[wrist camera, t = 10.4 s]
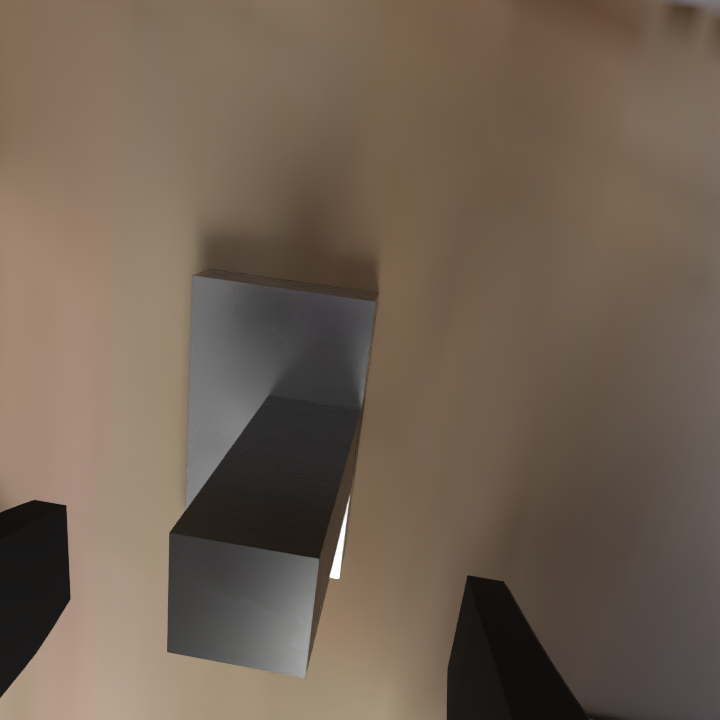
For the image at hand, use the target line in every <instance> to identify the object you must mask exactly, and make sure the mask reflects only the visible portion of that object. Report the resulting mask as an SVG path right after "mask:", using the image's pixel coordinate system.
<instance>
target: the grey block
mask: <svg viewBox="0 0 720 720" xmlns="http://www.w3.org/2000/svg"><path fill="white" fill-rule="evenodd" d="M378 296H379V294H378V293H371V292H364V291H357V290H350V289H343V288H336V287H329V286H322V285H315V284H308V283H301V282H294V281H287V280H280V279H273V278H266V277H259V276H252V275H245V274H238V273H231V272H224V271H217V270H210V269H206V270H204V271H202V272H199V273H197V274H195V275H192V300H191V335H190V369H189V404H188V439H187V474H186V509H185V512H184V513H183V515H182V516H181V518H180V519H179V520H178V522H177V523H176V524H175V526H174V527H173V529H172V530H171V531H170V533H169V586H168V639H167V652H170V653H175V654H180V655H186V656H191V657H196V658H201V659H207V660H212V661H217V662H223V663H228V664H233V665H238V666H244V667H249V668H254V669H260V670H265V671H270V672H275V673H281V674H286V675H291V676H297V677H302V678H305V677H306V673H307V669H308V665H309V661H310V656H311V652H312V648H313V644H314V640H315V636H316V632H317V628H318V624H319V619H320V615H321V611H322V607H323V603H324V599H325V595H326V591H327V586H328V582H329V578H330V577H332V578H338V579H339V576H340V572H341V567H342V563H343V558H344V551H345V544H346V536H347V529H348V521H349V514H350V506H351V499H352V491H353V484H354V476H355V469H356V461H357V454H358V446H359V439H360V431H361V424H362V416H363V409H364V401H365V394H366V386H367V379H368V371H369V364H370V356H371V349H372V341H373V334H374V326H375V319H376V311H377V304H378Z"/></svg>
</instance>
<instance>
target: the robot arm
mask: <svg viewBox="0 0 720 720" xmlns="http://www.w3.org/2000/svg"><path fill="white" fill-rule="evenodd" d="M69 601H70V577H69V555H68V533H67V511H66V505H60V504H55V503H49V502H43V501H37V500H33V501H30V502H27V503H24V504H21V505H18V506H16V507H13V508H11V509H8V510H6V511H3V512H1V513H0V698H1V696H2V695H3V694H4V693H5V691H6V690H7V689H8V688H9V686H10V685H11V684H12V683H13V681H14V680H15V679H16V678H17V677H18V675H19V674H20V673H21V672H22V670H23V669H24V668H25V667H26V665H27V664H28V663H29V662H30V660H31V659H32V658H33V656H34V655H35V654H36V653H37V651H38V650H39V648H40V647H41V645H42V644H43V642H44V640H45V639H46V637H47V636H48V634H49V633H50V631H51V630H52V628H53V627H54V625H55V623H56V622H57V620H58V619H59V617H60V615H61V614H62V612H63V610H64V609H65V607H66V605H67V604H68V602H69ZM447 720H592V719H590V718H589V717H588V716H587V714H586V713H585V711H584V710H583V708H582V707H581V705H580V704H579V703H578V701H577V700H576V698H575V697H574V695H573V694H572V692H571V691H570V689H569V687H568V686H567V684H566V683H565V681H564V680H563V678H562V677H561V675H560V674H559V672H558V671H557V669H556V668H555V666H554V664H553V663H552V661H551V660H550V658H549V657H548V655H547V653H546V652H545V650H544V648H543V647H542V645H541V644H540V642H539V640H538V639H537V637H536V635H535V634H534V632H533V630H532V629H531V627H530V625H529V623H528V622H527V620H526V618H525V617H524V615H523V613H522V611H521V610H520V608H519V606H518V604H517V603H516V601H515V599H514V597H513V595H512V594H511V592H510V590H509V588H508V587H507V586H506V584H505V583H504V582H503V581H497V580H492V579H486V578H480V577H474V576H469V575H468V576H467V581H466V585H465V590H464V595H463V599H462V604H461V609H460V613H459V618H458V623H457V627H456V632H455V637H454V642H453V646H452V651H451V656H450V660H449V665H448V676H447Z"/></svg>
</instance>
